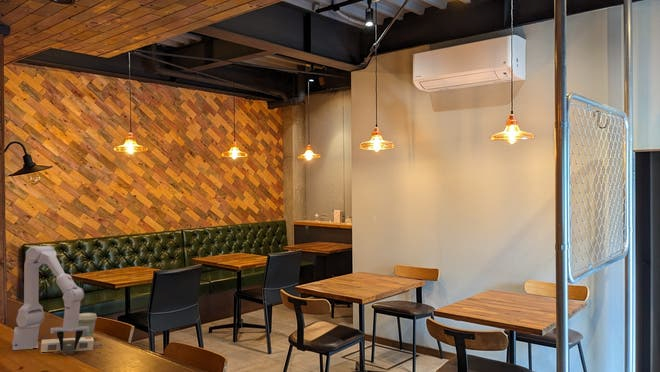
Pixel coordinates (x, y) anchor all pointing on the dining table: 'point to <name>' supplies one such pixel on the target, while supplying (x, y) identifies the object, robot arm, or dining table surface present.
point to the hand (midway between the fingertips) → (68, 349)
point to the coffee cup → (87, 323)
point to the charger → (68, 347)
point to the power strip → (54, 344)
